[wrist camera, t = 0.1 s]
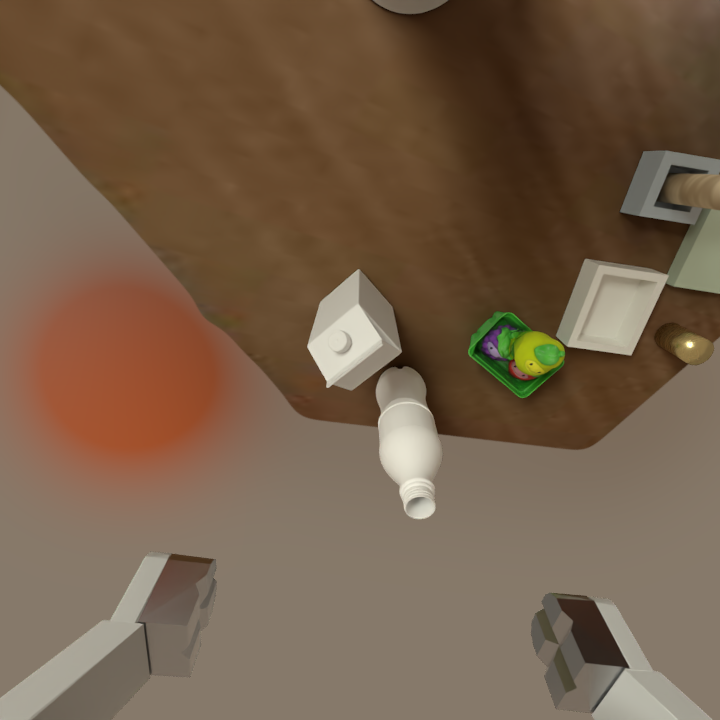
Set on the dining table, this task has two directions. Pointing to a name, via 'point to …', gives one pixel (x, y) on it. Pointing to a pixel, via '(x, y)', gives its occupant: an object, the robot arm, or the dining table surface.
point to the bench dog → (684, 343)
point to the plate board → (699, 255)
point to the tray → (610, 306)
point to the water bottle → (408, 439)
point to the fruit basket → (516, 353)
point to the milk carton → (353, 333)
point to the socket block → (651, 182)
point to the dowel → (691, 190)
